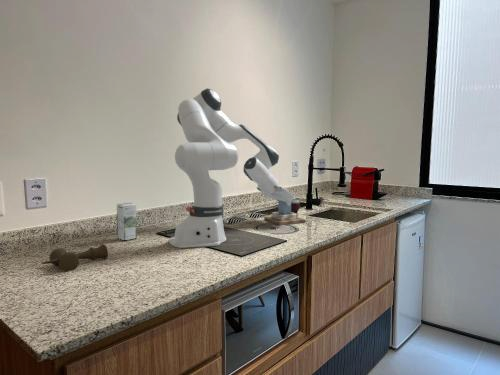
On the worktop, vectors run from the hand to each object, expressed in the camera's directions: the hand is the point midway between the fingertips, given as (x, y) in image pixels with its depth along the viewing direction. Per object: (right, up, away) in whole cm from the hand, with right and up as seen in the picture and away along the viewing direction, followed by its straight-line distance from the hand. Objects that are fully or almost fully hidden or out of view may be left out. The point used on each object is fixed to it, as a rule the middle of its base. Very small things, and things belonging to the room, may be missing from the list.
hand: (285, 203), depth 188 cm
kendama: (-74, -17, -67) cm, 101 cm away
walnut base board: (-1, -9, +1) cm, 9 cm away
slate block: (0, -5, 0) cm, 5 cm away
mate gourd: (+6, -7, +20) cm, 22 cm away
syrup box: (-68, -13, -35) cm, 77 cm away
